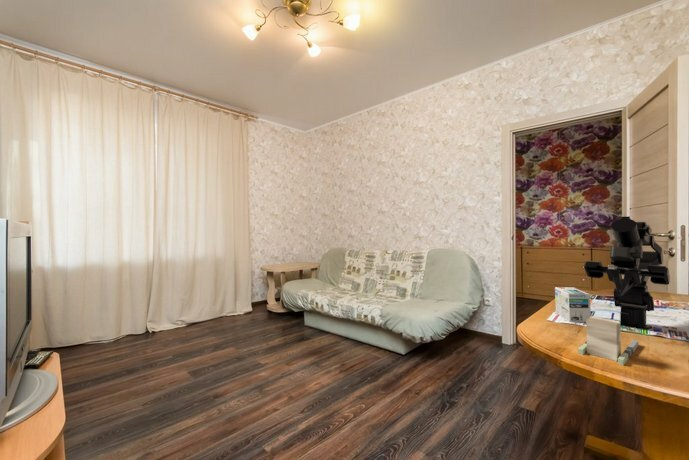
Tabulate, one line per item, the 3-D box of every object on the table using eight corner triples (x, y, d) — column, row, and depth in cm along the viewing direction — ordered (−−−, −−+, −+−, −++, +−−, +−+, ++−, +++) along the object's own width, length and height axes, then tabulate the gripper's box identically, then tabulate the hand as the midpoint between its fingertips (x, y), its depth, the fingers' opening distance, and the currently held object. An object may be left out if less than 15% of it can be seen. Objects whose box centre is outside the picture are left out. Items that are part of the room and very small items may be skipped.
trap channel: (597, 339, 92) (597, 332, 92) (638, 348, 85) (638, 340, 85) (578, 357, 81) (578, 348, 81) (623, 369, 74) (623, 360, 74)
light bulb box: (591, 325, 103) (591, 293, 103) (569, 325, 105) (568, 293, 104) (574, 315, 114) (574, 286, 113) (554, 315, 115) (553, 286, 115)
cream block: (591, 349, 84) (591, 316, 83) (620, 356, 79) (620, 321, 78) (587, 353, 81) (586, 319, 81) (616, 361, 76) (616, 325, 76)
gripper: (585, 236, 100) (574, 274, 94) (667, 237, 85) (661, 283, 79) (592, 257, 105) (583, 295, 99) (672, 262, 90) (666, 307, 84)
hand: (619, 294), depth 90 cm, fingers closed
